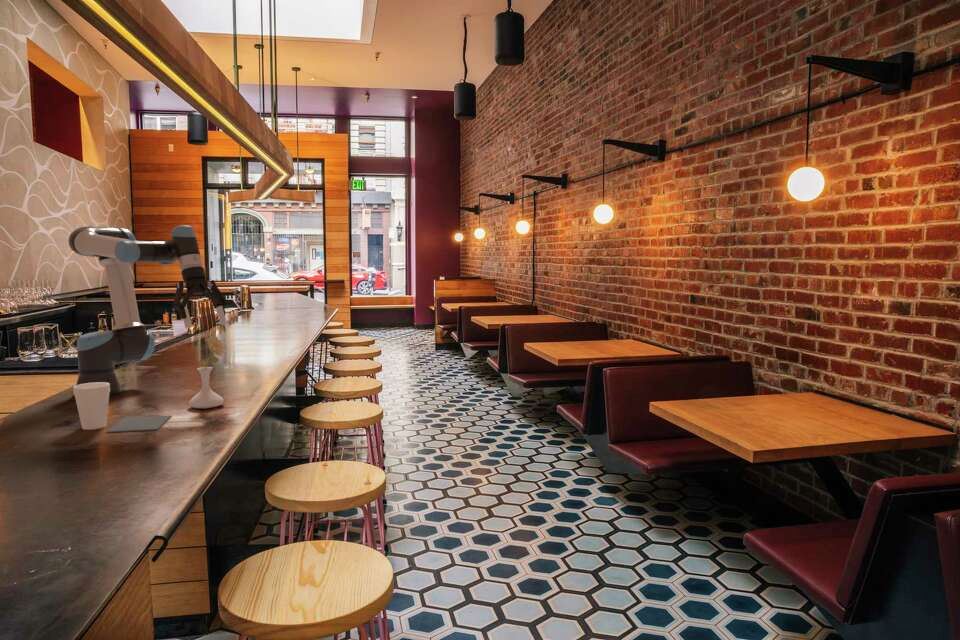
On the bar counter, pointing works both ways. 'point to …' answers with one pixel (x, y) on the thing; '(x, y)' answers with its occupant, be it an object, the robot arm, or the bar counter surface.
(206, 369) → the flower in vase
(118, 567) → the bar counter surface
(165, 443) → the bar counter surface
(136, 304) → the robot arm
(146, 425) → the mat
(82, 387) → the foam cup
